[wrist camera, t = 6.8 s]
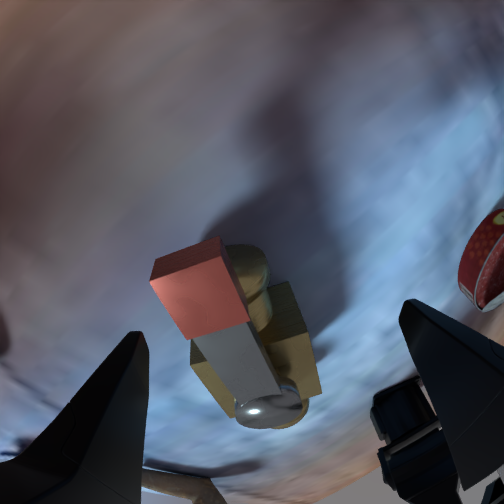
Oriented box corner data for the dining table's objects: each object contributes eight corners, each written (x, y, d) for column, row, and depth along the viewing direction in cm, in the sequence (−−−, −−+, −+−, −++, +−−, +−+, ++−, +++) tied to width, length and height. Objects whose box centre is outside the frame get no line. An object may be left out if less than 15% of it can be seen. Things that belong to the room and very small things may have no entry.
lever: (302, 398, 18) (308, 418, 17) (245, 414, 18) (248, 434, 17) (234, 230, 12) (237, 250, 10) (143, 263, 12) (135, 286, 10)
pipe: (142, 457, 33) (140, 517, 24) (238, 475, 39) (245, 526, 31) (130, 467, 35) (127, 520, 27) (219, 484, 41) (224, 531, 33)
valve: (274, 230, 18) (297, 283, 14) (312, 371, 26) (329, 421, 21) (168, 265, 19) (156, 325, 14) (240, 392, 26) (246, 443, 21)
